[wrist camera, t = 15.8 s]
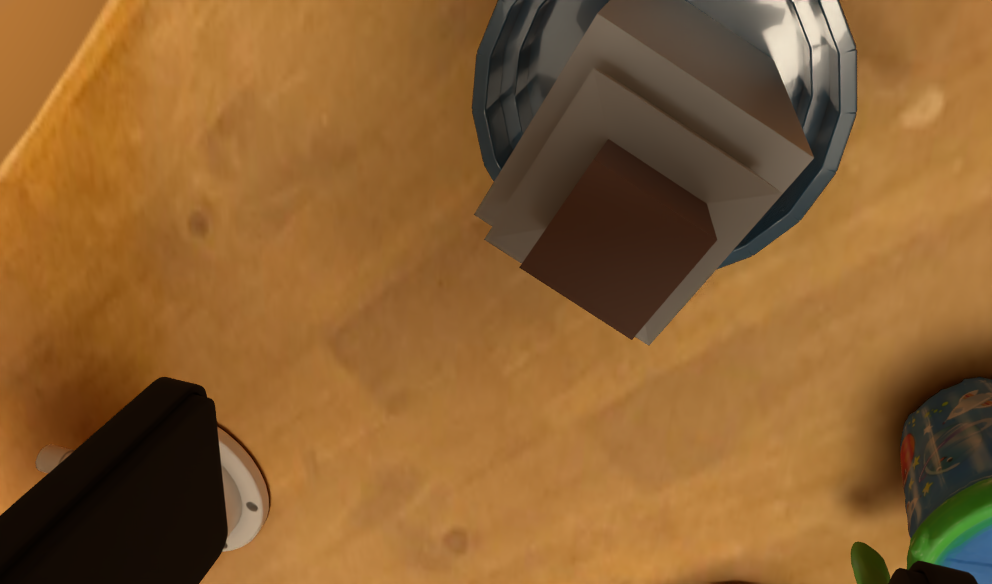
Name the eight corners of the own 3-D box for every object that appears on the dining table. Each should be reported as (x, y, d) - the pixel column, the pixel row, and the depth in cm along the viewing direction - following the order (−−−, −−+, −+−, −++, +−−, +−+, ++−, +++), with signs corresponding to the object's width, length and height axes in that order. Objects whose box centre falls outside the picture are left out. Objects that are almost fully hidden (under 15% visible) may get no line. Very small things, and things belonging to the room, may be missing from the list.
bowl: (490, 199, 38) (459, 243, 33) (524, -119, 31) (490, -122, 26) (778, 254, 35) (789, 309, 30) (885, -77, 28) (921, -72, 23)
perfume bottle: (553, 106, 34) (425, 280, 19) (638, -31, 30) (569, 42, 15) (675, 187, 34) (649, 423, 19) (774, 60, 31) (841, 223, 15)
